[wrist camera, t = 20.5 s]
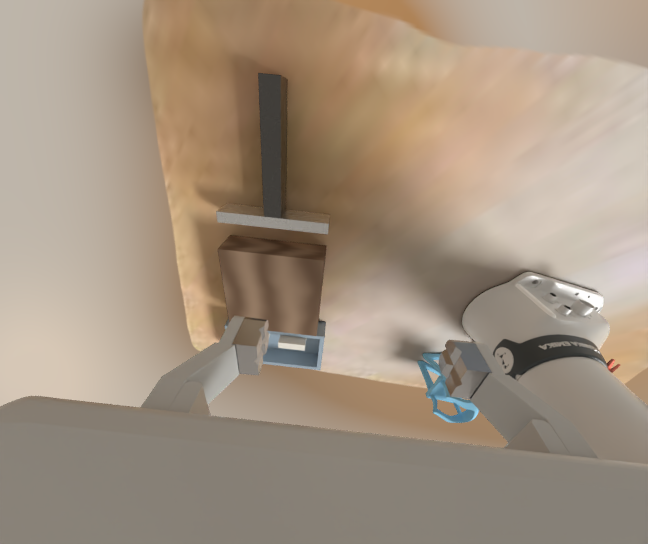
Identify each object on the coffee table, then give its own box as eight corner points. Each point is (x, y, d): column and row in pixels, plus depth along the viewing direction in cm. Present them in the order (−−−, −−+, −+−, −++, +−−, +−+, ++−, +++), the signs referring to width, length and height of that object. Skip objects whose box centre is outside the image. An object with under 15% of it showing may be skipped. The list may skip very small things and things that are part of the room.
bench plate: (326, 245, 41) (324, 260, 37) (318, 317, 50) (316, 336, 46) (230, 235, 41) (217, 249, 37) (239, 308, 50) (229, 326, 46)
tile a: (305, 345, 46) (304, 350, 47) (308, 326, 51) (307, 331, 51) (278, 342, 46) (278, 347, 47) (283, 323, 51) (283, 328, 51)
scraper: (211, 71, 30) (194, 66, 27) (343, 85, 30) (344, 82, 27) (228, 213, 39) (217, 222, 36) (329, 224, 39) (327, 234, 36)
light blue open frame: (427, 345, 52) (447, 401, 42) (465, 353, 53) (493, 410, 43) (412, 368, 57) (427, 423, 46) (447, 375, 57) (469, 431, 47)
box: (325, 321, 50) (324, 336, 47) (321, 354, 56) (320, 370, 52) (232, 311, 51) (224, 325, 47) (237, 345, 56) (230, 360, 53)
